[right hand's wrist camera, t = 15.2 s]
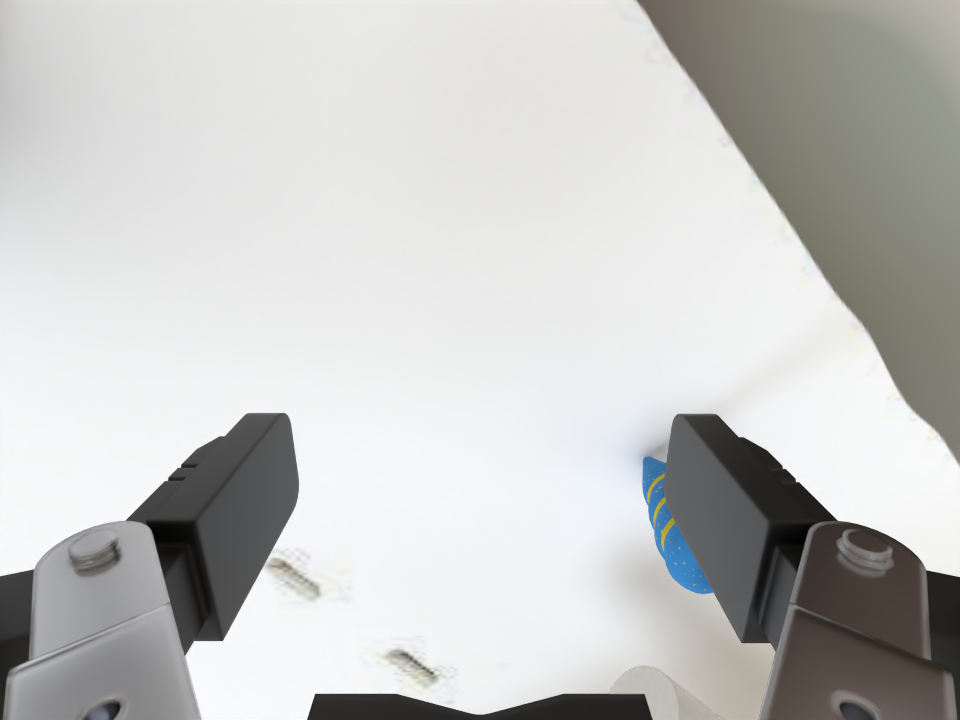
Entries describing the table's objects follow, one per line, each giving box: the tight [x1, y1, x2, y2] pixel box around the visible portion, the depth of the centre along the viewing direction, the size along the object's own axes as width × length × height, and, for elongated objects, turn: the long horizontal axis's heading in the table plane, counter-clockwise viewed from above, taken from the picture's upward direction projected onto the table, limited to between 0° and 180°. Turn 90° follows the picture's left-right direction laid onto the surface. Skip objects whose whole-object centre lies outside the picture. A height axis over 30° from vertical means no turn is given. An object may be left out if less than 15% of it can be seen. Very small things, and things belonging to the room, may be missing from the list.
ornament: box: [643, 457, 713, 594], centre depth 37 cm, size 5×5×15 cm
